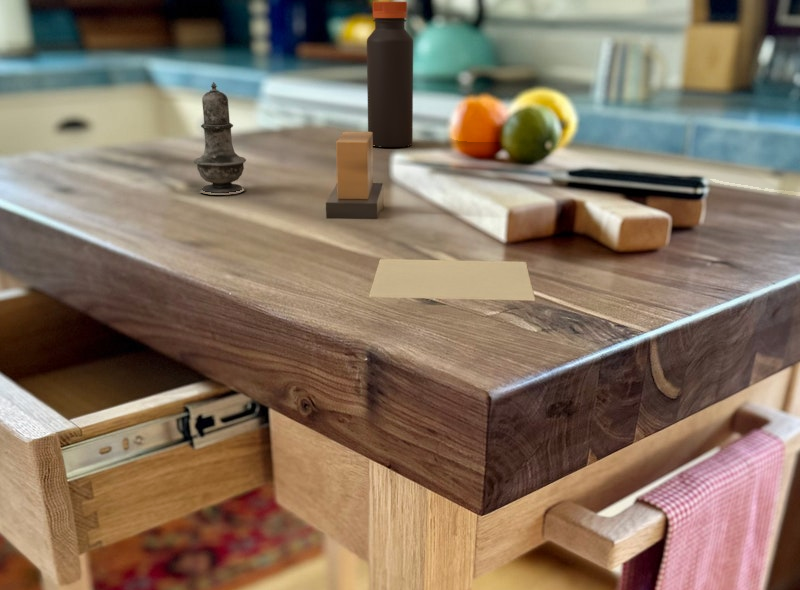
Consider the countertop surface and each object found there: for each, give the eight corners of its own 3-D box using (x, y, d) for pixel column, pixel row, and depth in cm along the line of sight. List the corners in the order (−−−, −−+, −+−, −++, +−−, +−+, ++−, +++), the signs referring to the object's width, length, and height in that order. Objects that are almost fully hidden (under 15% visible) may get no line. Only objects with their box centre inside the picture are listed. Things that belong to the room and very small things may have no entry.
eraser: (337, 205, 95) (335, 129, 91) (383, 206, 94) (383, 129, 91) (326, 228, 85) (323, 144, 82) (377, 228, 85) (376, 144, 82)
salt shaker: (223, 184, 105) (214, 79, 100) (258, 190, 102) (251, 81, 97) (186, 192, 101) (175, 82, 96) (222, 198, 98) (212, 85, 93)
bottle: (411, 149, 130) (412, 1, 122) (366, 148, 130) (363, 1, 122) (413, 142, 136) (414, 1, 128) (370, 141, 136) (368, 1, 128)
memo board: (525, 273, 72) (526, 261, 71) (534, 313, 63) (535, 300, 62) (380, 270, 72) (379, 258, 72) (368, 309, 63) (368, 296, 63)
